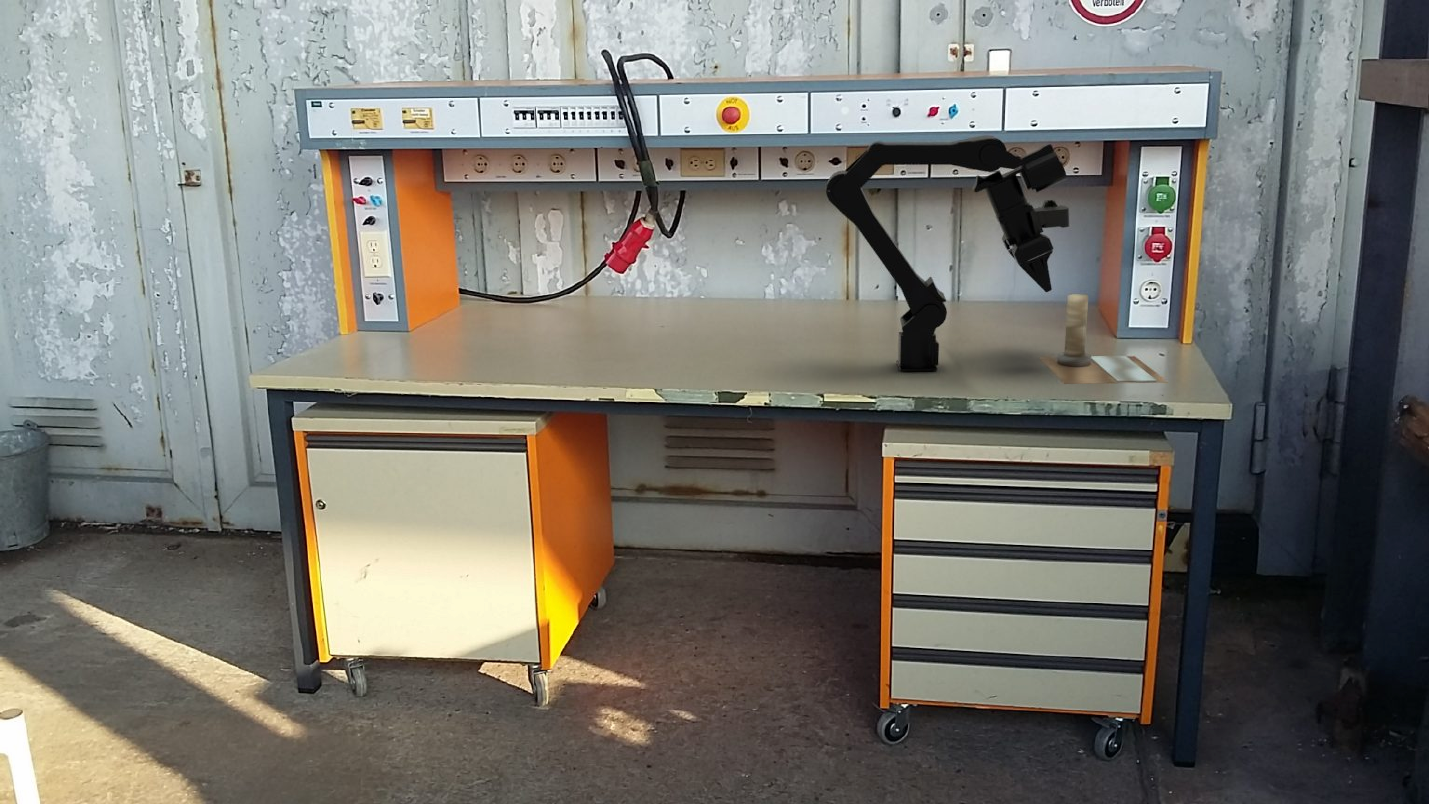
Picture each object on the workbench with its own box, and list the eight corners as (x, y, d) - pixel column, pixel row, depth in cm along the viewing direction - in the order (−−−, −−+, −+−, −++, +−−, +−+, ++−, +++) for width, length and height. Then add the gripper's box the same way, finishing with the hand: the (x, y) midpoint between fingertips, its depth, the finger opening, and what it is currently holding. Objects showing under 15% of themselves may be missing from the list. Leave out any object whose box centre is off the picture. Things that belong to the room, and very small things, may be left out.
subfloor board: (1064, 390, 202) (1065, 382, 202) (1038, 364, 220) (1039, 356, 219) (1168, 389, 202) (1168, 380, 202) (1134, 362, 219) (1134, 355, 219)
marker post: (1061, 367, 212) (1065, 299, 209) (1053, 359, 218) (1057, 293, 214) (1094, 366, 212) (1098, 298, 209) (1085, 359, 217) (1089, 292, 214)
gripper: (1064, 190, 200) (1099, 276, 203) (1046, 179, 217) (1079, 258, 221) (999, 219, 202) (1035, 304, 205) (987, 206, 220) (1020, 283, 223)
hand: (1044, 286), depth 213 cm, fingers open, 9 cm apart
